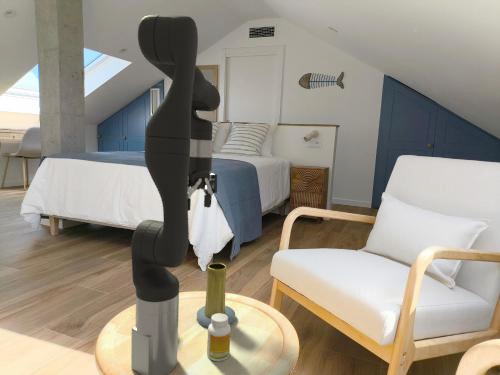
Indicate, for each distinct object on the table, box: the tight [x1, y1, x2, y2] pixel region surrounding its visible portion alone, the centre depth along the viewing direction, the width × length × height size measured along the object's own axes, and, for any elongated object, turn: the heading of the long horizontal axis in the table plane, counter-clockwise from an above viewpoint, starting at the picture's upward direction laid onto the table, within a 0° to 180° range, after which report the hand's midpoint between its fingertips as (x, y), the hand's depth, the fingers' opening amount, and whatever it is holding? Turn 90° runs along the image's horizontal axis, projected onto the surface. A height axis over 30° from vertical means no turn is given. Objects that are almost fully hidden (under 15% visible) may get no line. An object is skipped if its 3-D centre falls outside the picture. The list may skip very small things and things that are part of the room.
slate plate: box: [196, 305, 236, 329], centre depth 101 cm, size 11×11×2 cm
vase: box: [204, 262, 227, 318], centre depth 100 cm, size 6×6×14 cm
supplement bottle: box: [206, 313, 232, 362], centre depth 84 cm, size 5×5×10 cm
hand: (197, 208), depth 106 cm, fingers open, 8 cm apart
